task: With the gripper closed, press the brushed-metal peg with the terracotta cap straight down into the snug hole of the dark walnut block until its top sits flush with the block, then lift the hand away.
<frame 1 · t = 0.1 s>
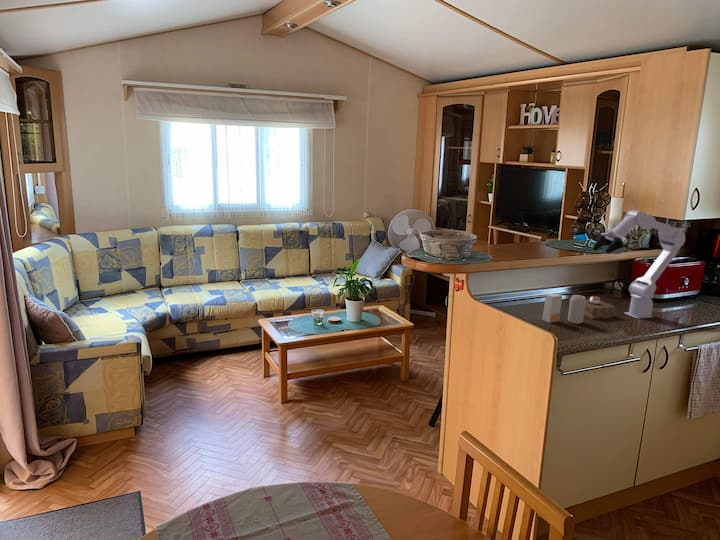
hand: (600, 250, 244), 32 cm above the table, tool tilted 50°, fingers open, 7 cm apart
peg: (594, 301, 259), point 6 cm above the table, slide at 3.0 cm
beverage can: (574, 322, 246), on the table
band block: (592, 313, 261), on the table
skincare box: (550, 321, 247), on the table
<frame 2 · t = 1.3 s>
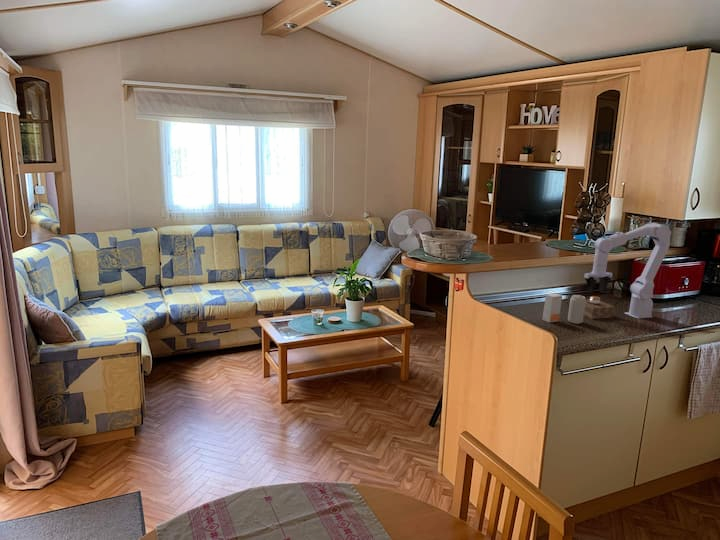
hand: (595, 292, 258), 10 cm above the table, tool pointing down, fingers open, 6 cm apart
nothing on the table moved.
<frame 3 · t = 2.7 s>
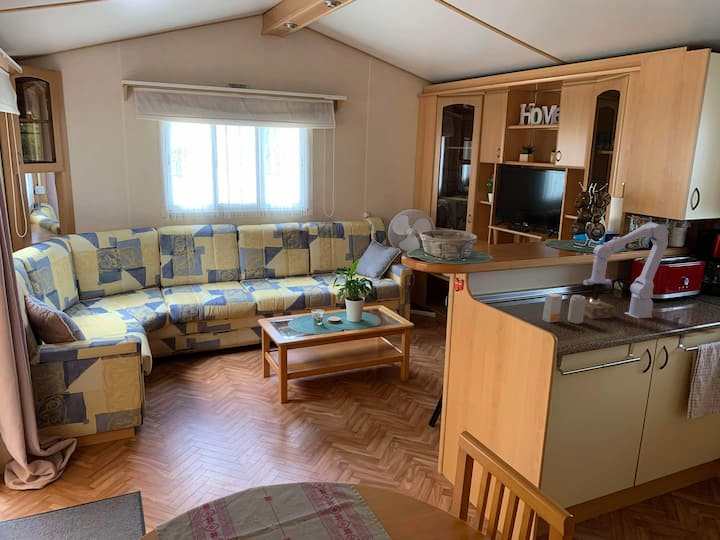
hand: (594, 299, 259), 7 cm above the table, tool pointing down, fingers closed, pressing on peg
peg: (594, 302, 259), point 5 cm above the table, slide at 2.2 cm, touching gripper
everything else where it was.
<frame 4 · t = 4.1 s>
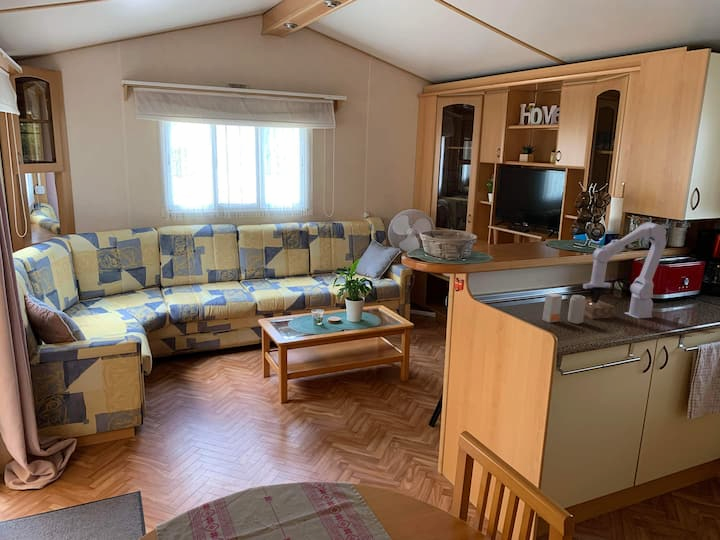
hand: (594, 302, 259), 5 cm above the table, tool pointing down, fingers closed
peg: (593, 307, 260), point 3 cm above the table, slide at 0.0 cm
everything else where it was.
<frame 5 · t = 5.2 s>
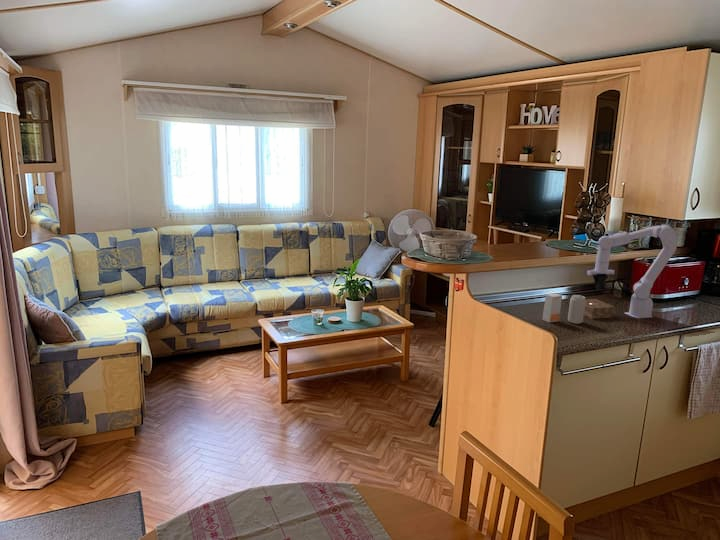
hand: (598, 289, 265), 10 cm above the table, tool pointing down, fingers closed
nothing on the table moved.
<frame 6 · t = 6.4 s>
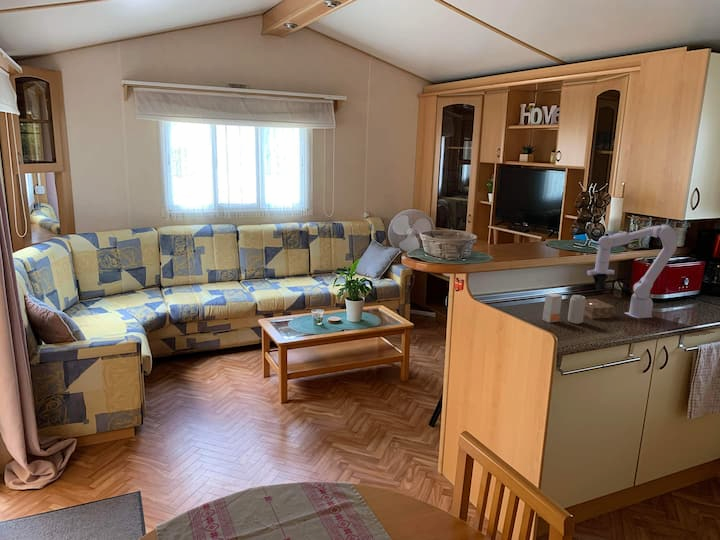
hand: (598, 289, 265), 10 cm above the table, tool pointing down, fingers closed
nothing on the table moved.
at the end: peg slide at 0.0 cm; the gripper is holding nothing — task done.
